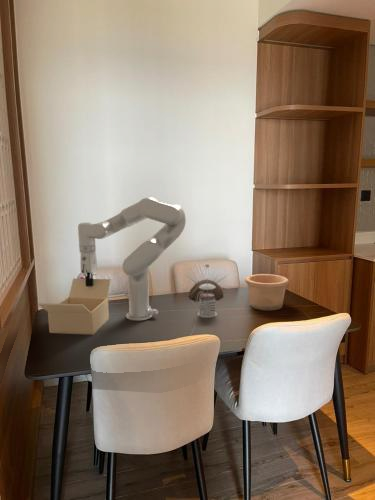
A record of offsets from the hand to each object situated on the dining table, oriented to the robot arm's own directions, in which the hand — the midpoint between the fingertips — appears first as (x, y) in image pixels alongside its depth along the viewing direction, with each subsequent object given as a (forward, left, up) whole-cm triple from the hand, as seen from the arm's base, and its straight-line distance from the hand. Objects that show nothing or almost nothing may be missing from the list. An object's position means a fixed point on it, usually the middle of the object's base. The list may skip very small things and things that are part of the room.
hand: (89, 285), depth 184 cm
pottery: (-86, -24, -15) cm, 91 cm away
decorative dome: (-54, -38, -16) cm, 67 cm away
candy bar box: (+8, -17, -15) cm, 24 cm away
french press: (-56, -7, -15) cm, 59 cm away
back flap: (0, 0, -1) cm, 1 cm away
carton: (0, +13, -15) cm, 20 cm away
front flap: (0, +27, -2) cm, 27 cm away
